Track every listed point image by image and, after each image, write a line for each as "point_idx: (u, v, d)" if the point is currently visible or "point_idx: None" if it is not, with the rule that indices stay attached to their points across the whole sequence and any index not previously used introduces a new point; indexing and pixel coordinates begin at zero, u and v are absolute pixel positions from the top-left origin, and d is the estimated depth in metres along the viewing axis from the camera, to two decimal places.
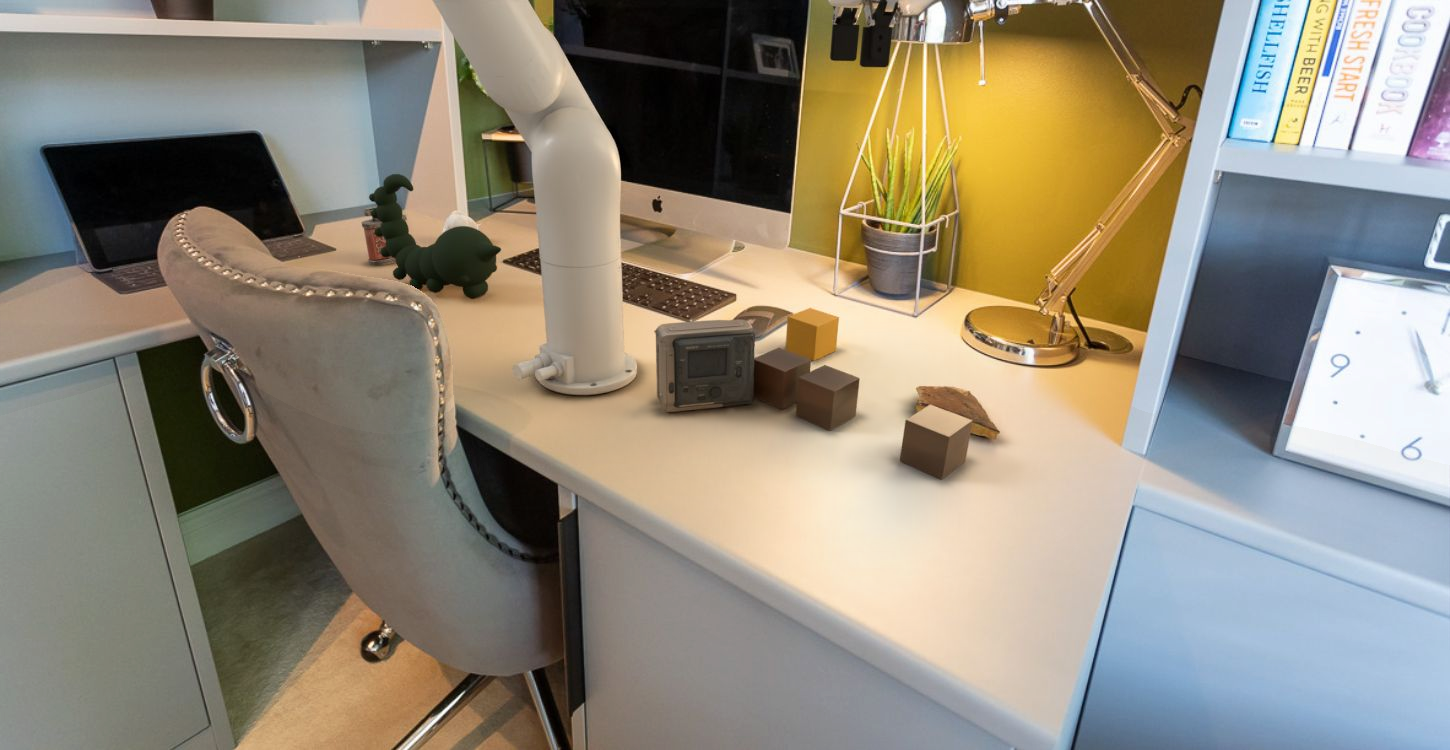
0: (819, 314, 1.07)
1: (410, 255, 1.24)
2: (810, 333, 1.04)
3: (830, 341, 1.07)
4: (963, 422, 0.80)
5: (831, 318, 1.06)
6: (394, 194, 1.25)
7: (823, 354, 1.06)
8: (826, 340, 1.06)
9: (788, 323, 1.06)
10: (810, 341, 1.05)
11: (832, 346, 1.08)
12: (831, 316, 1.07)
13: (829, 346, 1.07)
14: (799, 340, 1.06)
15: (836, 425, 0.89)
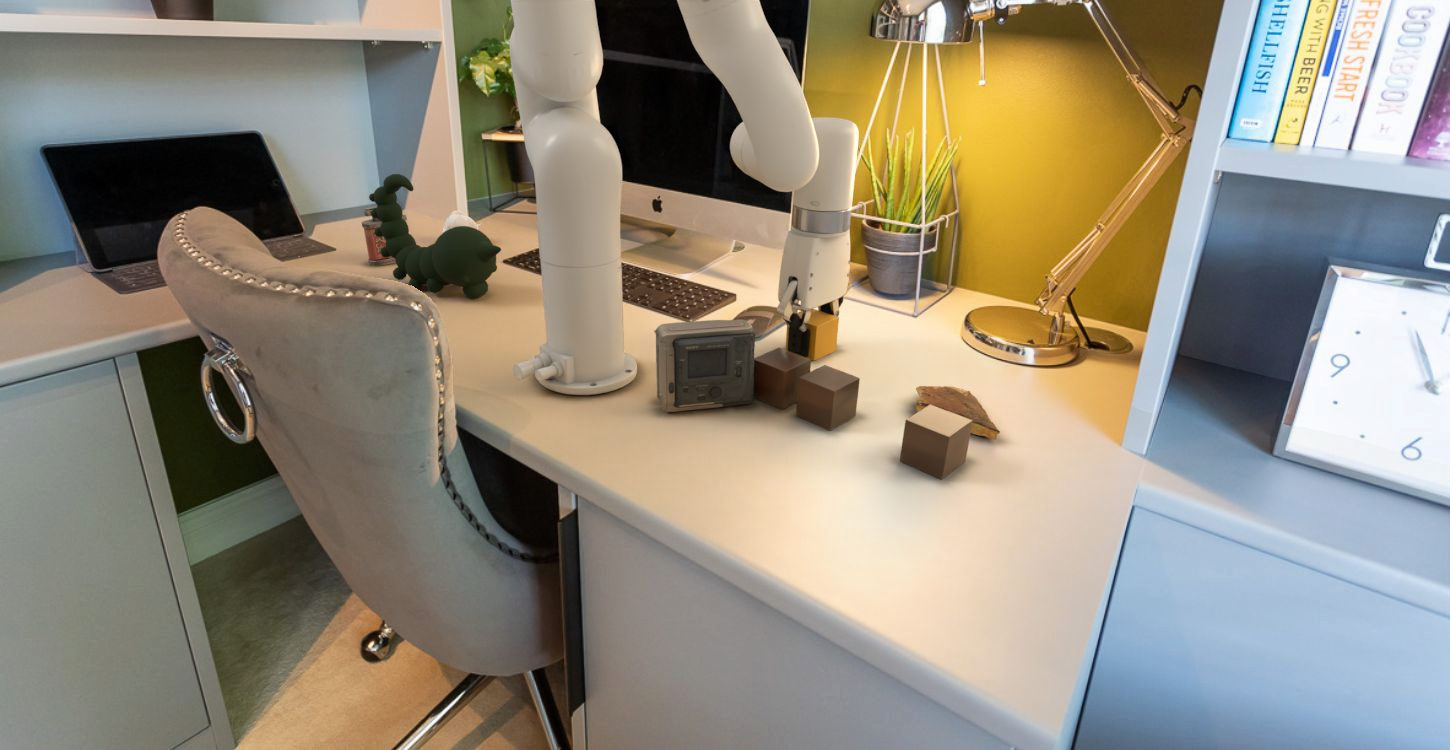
0: (819, 314, 1.07)
1: (410, 255, 1.24)
2: (810, 333, 1.04)
3: (830, 341, 1.07)
4: (963, 422, 0.80)
5: (831, 318, 1.06)
6: (394, 194, 1.25)
7: (823, 354, 1.06)
8: (826, 340, 1.06)
9: None
10: (810, 341, 1.05)
11: (832, 346, 1.08)
12: (831, 316, 1.07)
13: (829, 346, 1.07)
14: None
15: (836, 425, 0.89)
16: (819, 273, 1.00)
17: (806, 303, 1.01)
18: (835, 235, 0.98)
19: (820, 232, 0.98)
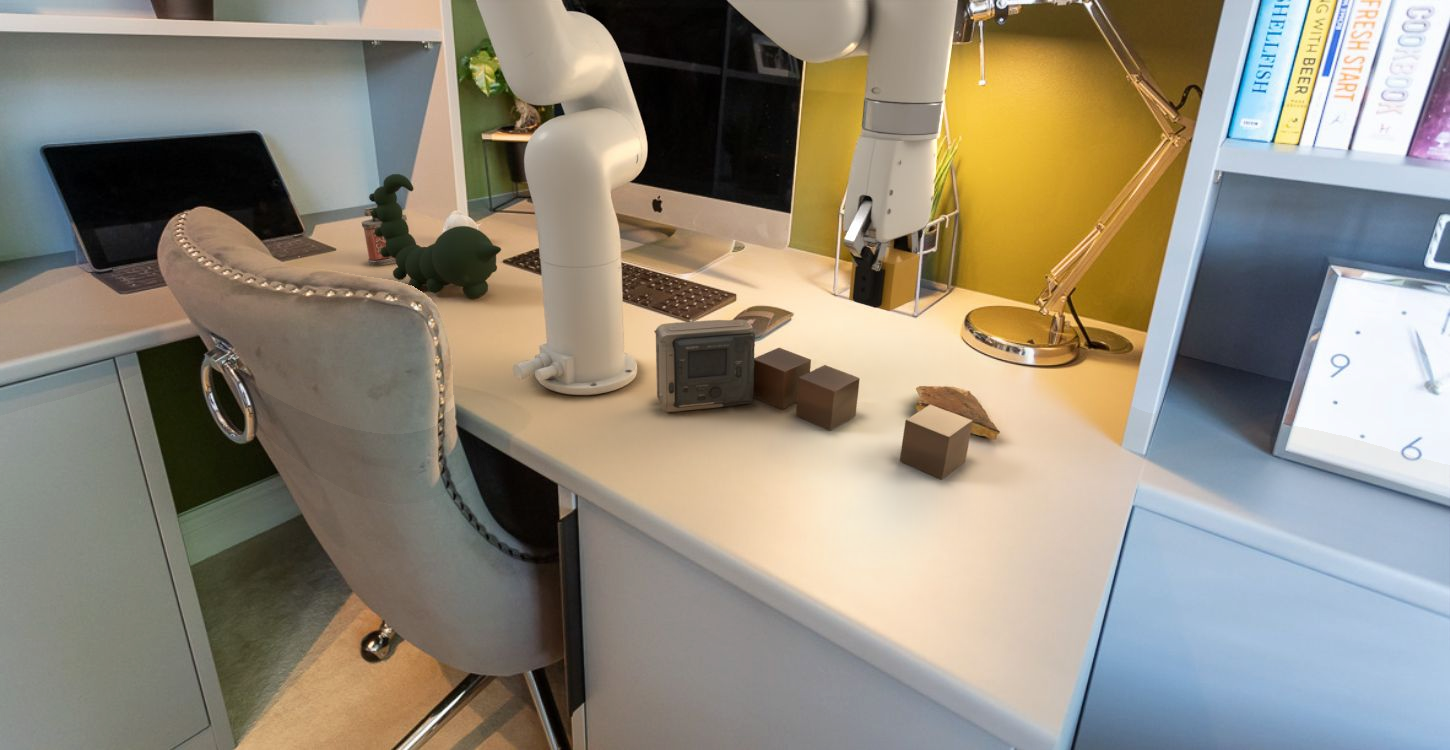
0: (893, 251, 0.82)
1: (410, 255, 1.24)
2: (885, 275, 0.79)
3: (908, 286, 0.82)
4: (963, 422, 0.80)
5: (910, 256, 0.81)
6: (394, 194, 1.25)
7: (900, 303, 0.81)
8: (904, 284, 0.81)
9: None
10: (885, 285, 0.80)
11: (911, 293, 0.83)
12: (910, 253, 0.82)
13: (907, 293, 0.82)
14: None
15: (836, 425, 0.89)
16: (901, 191, 0.75)
17: (883, 231, 0.76)
18: (924, 137, 0.73)
19: (904, 133, 0.72)
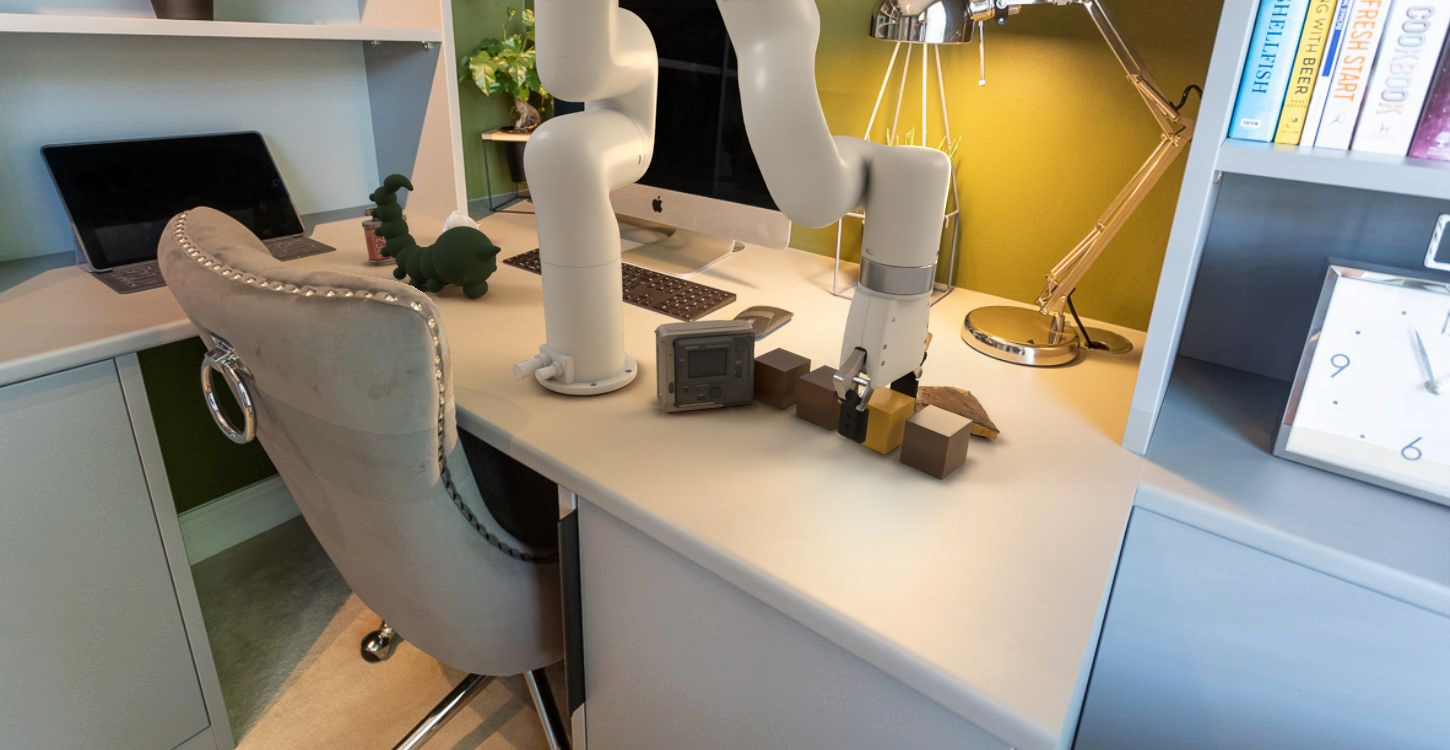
0: (890, 394, 0.86)
1: (410, 255, 1.24)
2: (881, 421, 0.83)
3: None
4: (963, 422, 0.80)
5: (906, 400, 0.84)
6: (394, 194, 1.25)
7: (895, 445, 0.85)
8: (899, 428, 0.84)
9: None
10: (881, 431, 0.83)
11: None
12: (905, 397, 0.85)
13: None
14: None
15: (836, 425, 0.89)
16: (894, 343, 0.78)
17: (877, 381, 0.79)
18: (917, 297, 0.76)
19: (898, 293, 0.76)
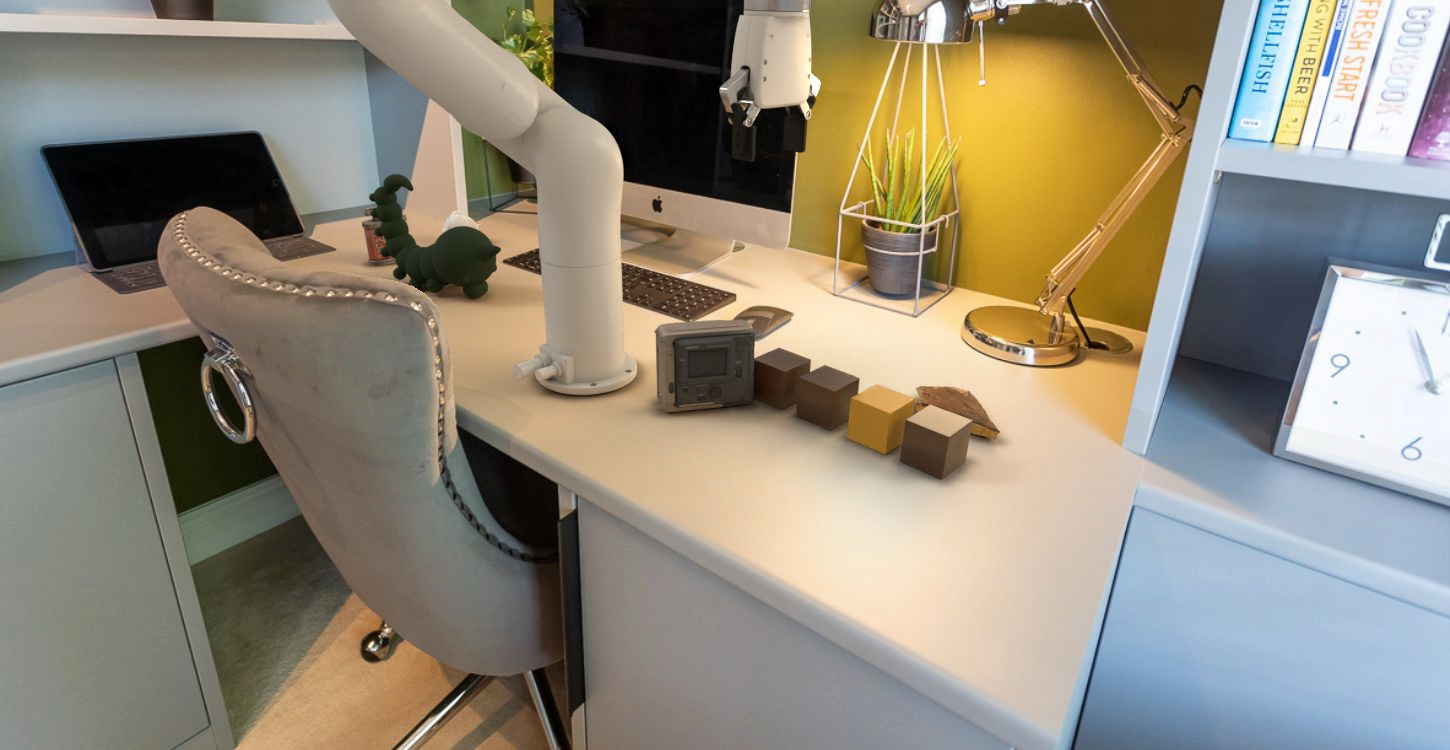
0: (890, 394, 0.86)
1: (410, 255, 1.24)
2: (881, 421, 0.83)
3: None
4: (963, 422, 0.80)
5: (906, 400, 0.84)
6: (394, 194, 1.25)
7: (895, 445, 0.85)
8: (899, 428, 0.84)
9: (851, 406, 0.85)
10: (881, 431, 0.83)
11: None
12: (905, 397, 0.85)
13: None
14: (865, 427, 0.84)
15: (836, 425, 0.89)
16: (774, 62, 0.89)
17: (760, 97, 0.90)
18: (791, 14, 0.87)
19: (774, 9, 0.87)
